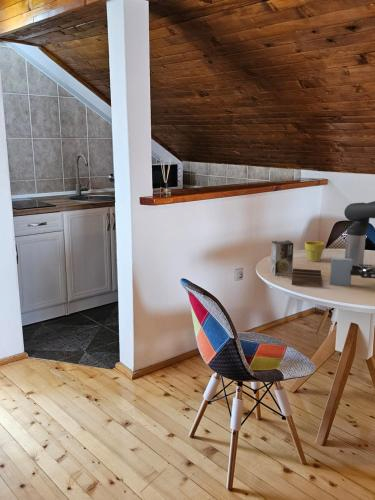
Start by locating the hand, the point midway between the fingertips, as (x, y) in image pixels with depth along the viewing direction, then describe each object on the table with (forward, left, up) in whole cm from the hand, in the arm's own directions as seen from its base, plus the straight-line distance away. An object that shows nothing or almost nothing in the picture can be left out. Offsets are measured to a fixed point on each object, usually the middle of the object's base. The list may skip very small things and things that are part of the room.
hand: (349, 270), depth 213 cm
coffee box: (-11, -31, -7) cm, 33 cm away
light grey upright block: (0, -4, -7) cm, 8 cm away
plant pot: (-42, -15, -7) cm, 45 cm away
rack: (0, -19, -7) cm, 20 cm away
